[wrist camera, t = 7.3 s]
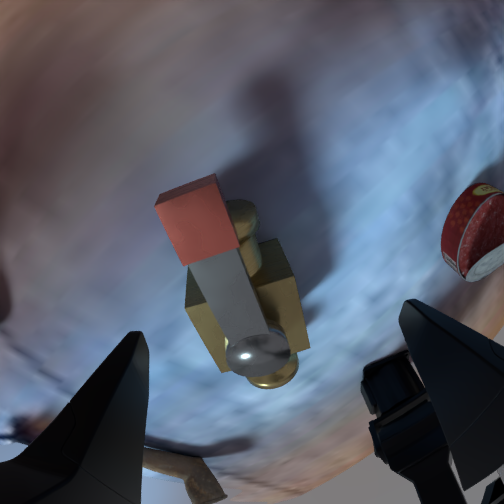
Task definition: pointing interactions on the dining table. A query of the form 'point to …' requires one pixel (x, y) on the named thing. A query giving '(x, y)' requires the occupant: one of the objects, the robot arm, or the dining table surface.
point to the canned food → (475, 232)
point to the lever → (222, 275)
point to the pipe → (186, 474)
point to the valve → (267, 289)
